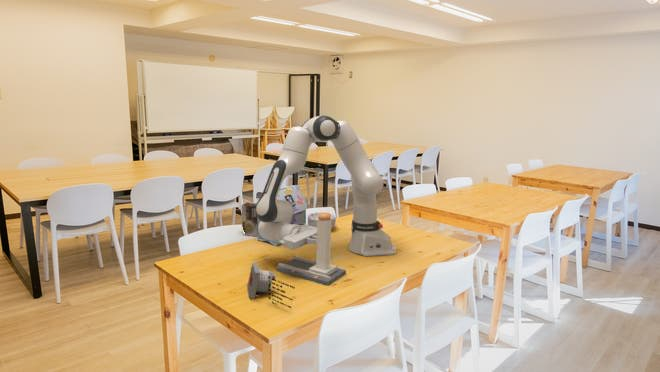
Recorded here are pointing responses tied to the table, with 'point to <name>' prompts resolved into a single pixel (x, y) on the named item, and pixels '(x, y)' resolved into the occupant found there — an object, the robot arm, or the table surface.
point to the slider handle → (323, 246)
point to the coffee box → (249, 219)
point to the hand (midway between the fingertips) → (319, 241)
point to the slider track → (301, 270)
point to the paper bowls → (314, 216)
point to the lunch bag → (298, 203)
